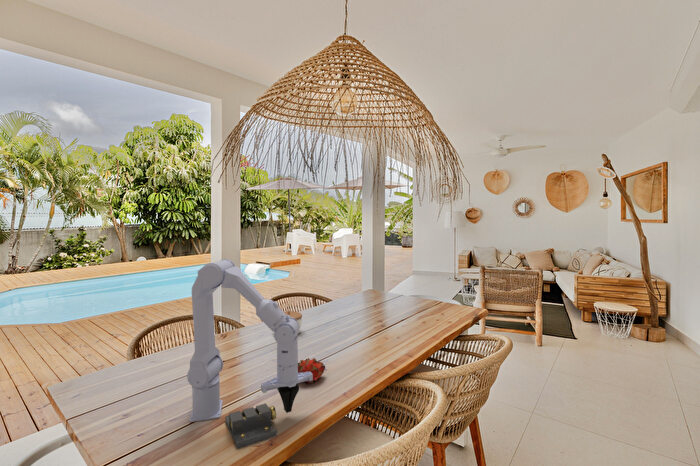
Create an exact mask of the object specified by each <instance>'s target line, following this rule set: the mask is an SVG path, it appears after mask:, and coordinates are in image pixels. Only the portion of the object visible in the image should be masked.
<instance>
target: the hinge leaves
mask: <svg viewBox="0 0 700 466" xmlns="http://www.w3.org/2000/svg"><path fill="white" fill-rule="evenodd" d="M269 407H270V406H268V404H267V403H262V404H259V405H256V406H255V407H254V406H252V407H247V408H244V409H242V411H240V410H237V411H233V412H229V413H228V415H225V418H224V419H225V424H226V426H227V429H228V432H229V434H230V436H231V438H232V440H233V443H234V446H235V449H237V450H239V449H242V448H244V447H248V446H251V445H253V444H257V443H260V442H263V441H265V440H268V439H273V438H275V437H277V435H278V434H277V433H278V431H277V429H276V427H275V425H274V424H273V423H272V420H271V410H270V409H269ZM258 412H259V414H260V415H258V414H257V413H258ZM244 416H245V417H246V419H244V418H243V417H244ZM230 421H231V422H232V429H231V425H230Z"/></svg>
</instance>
